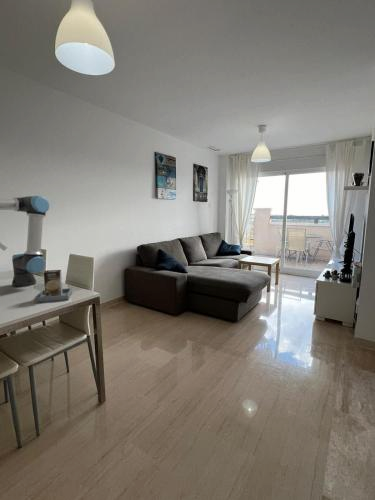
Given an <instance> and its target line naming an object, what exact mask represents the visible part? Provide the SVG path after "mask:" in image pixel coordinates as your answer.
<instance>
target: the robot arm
mask: <svg viewBox="0 0 375 500" xmlns="http://www.w3.org/2000/svg"><path fill="white" fill-rule="evenodd" d="M49 209H50V202H49V200H48V199H47V198H46V197H44V196H42V195H29V196H22V197H13V198H0V211H14V212H22V213H26V215H27V216H28V222H27V223H28V225H27V240H26V241H27V242H26V251H25V252H24V253H17V254H13V255H12V257H11V259H12V260H11V261H12V268H13V278H12V282H11V286H12V287H13V288H18V287H19V288H21V287H22V288H23V287H30V286H33V285H35V284H37V280H36V277H35V275H34V274H38V273H41V272H42V271H44V269H45V267H46V264H47V263H46V260H45V259H44V256H43V255H44V254H43V252H42V251H41V250H42V239H43V238H42V236H43V223H44V222H43V221H44V218H45V217H46V215H47V212H48V211H49ZM0 249H1V250H2V251H6V250H7V249H8V246H7V245H6V244H4V243H3V242H1V241H0Z"/></svg>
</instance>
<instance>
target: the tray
mask: <svg viewBox="0 0 375 500" xmlns="http://www.w3.org/2000/svg"><path fill="white" fill-rule="evenodd" d="M62 292H63V294H62V295H60V296H48V297H45V289H43V290H40V291H39V293H38V294H37V295H36V296H35V297H34V298H33V299H34V304H41V303H49V302H50V303H51V302H60V301H61V302H62V301H64V302H65V301H69V300H70V299H71V297H72V294H73V288H72V287H68V288H67V287H66V288H62Z"/></svg>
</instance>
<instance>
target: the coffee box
mask: <svg viewBox="0 0 375 500" xmlns="http://www.w3.org/2000/svg"><path fill="white" fill-rule="evenodd" d="M62 279H63V278H62V269H53V270H50V269H49V270H45V271H44V272H43V281H44V290H45V297H48V296H60V295H62V294H63V292H62V289H63V281H62Z"/></svg>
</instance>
